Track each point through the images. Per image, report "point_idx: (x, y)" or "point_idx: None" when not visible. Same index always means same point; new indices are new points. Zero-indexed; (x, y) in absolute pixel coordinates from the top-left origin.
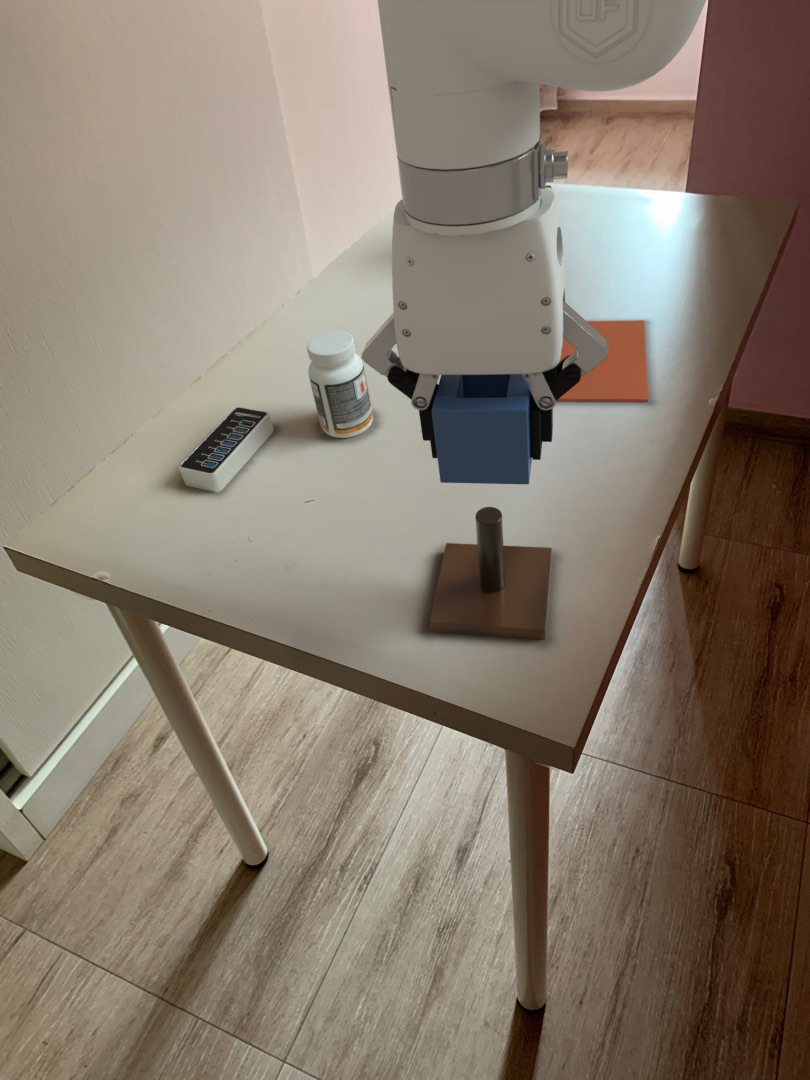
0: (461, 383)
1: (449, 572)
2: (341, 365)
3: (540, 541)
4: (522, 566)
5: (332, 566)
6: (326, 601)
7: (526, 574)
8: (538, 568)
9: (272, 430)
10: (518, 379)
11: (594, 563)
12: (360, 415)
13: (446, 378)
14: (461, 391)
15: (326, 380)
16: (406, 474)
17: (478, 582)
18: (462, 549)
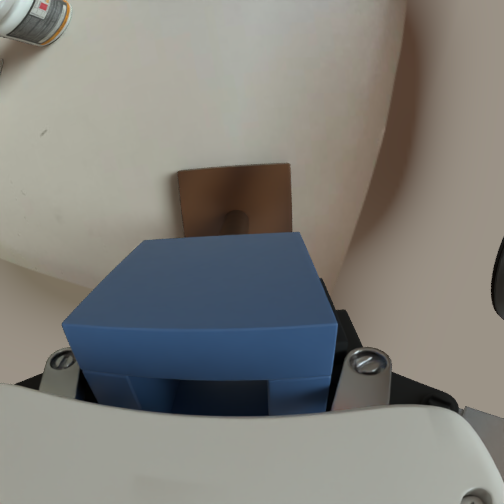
0: (142, 388)
1: (191, 212)
2: (9, 13)
3: (274, 140)
4: (263, 194)
5: (87, 208)
6: (99, 248)
7: (268, 205)
8: (279, 196)
9: (1, 62)
10: (293, 414)
11: (330, 167)
12: (54, 23)
13: (107, 399)
14: (150, 384)
15: (4, 32)
16: (114, 66)
17: (222, 221)
18: (196, 179)
